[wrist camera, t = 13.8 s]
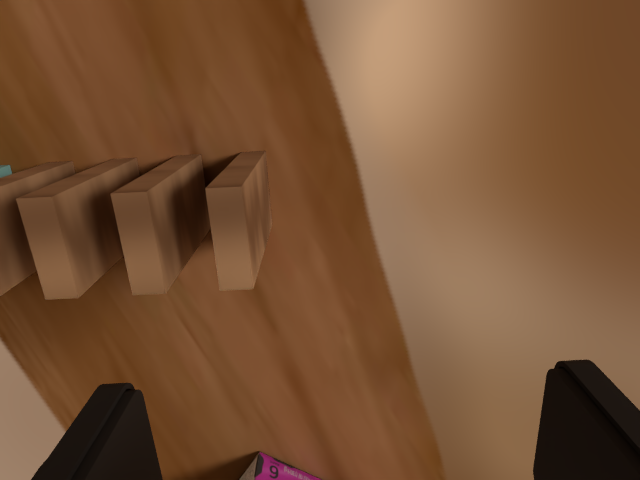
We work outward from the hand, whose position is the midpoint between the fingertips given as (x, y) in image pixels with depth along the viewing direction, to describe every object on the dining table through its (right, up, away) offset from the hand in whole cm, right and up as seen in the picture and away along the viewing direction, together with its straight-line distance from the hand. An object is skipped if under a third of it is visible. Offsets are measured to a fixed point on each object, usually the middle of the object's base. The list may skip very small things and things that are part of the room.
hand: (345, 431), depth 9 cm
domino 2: (-13, +7, +21) cm, 26 cm away
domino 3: (-9, +7, +21) cm, 24 cm away
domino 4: (-5, +7, +21) cm, 23 cm away
